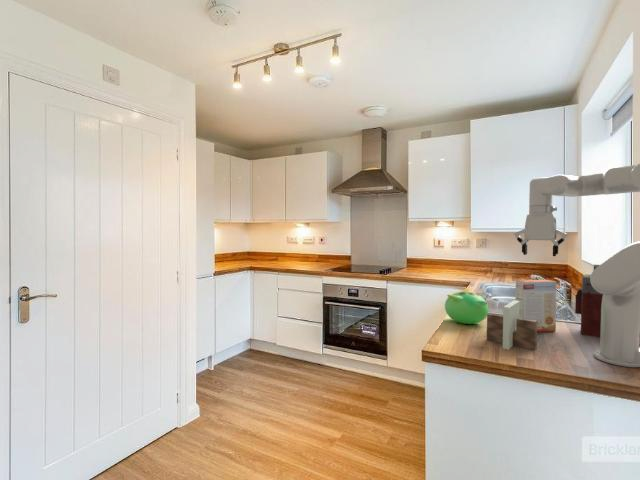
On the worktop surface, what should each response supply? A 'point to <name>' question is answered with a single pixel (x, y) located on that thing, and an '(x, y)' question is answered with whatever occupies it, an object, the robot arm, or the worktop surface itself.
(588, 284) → the dark red canister
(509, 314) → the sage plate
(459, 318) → the toy bird
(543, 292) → the cracker box
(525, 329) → the walnut board
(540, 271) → the worktop surface
